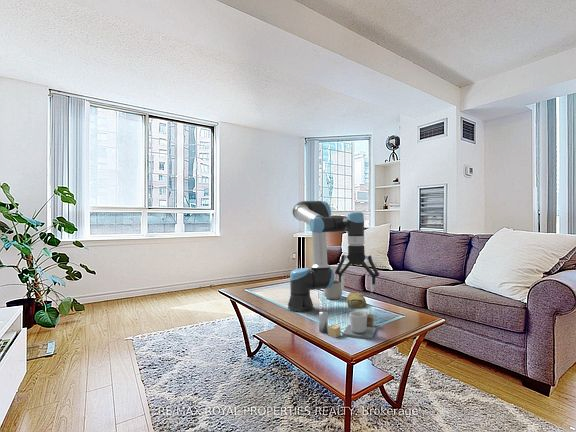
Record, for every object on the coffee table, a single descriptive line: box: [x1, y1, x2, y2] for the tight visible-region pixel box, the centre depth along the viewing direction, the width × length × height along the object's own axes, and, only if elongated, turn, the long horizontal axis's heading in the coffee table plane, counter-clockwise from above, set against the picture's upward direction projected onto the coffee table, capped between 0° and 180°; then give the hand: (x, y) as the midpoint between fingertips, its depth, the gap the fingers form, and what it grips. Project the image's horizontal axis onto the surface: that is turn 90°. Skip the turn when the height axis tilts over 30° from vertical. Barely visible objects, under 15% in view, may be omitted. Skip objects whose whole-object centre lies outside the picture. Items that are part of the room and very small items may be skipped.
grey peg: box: [318, 310, 329, 334], centre depth 141 cm, size 4×4×9 cm
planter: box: [323, 279, 343, 300], centre depth 203 cm, size 12×12×11 cm
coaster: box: [341, 324, 377, 341], centre depth 138 cm, size 13×13×1 cm
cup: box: [349, 311, 368, 333], centre depth 139 cm, size 11×8×8 cm
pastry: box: [345, 291, 367, 309], centre depth 184 cm, size 14×12×8 cm
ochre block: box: [327, 324, 342, 339], centre depth 136 cm, size 4×4×4 cm
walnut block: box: [366, 313, 375, 327], centre depth 148 cm, size 5×5×5 cm
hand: (357, 290), depth 141 cm, fingers open, 13 cm apart
